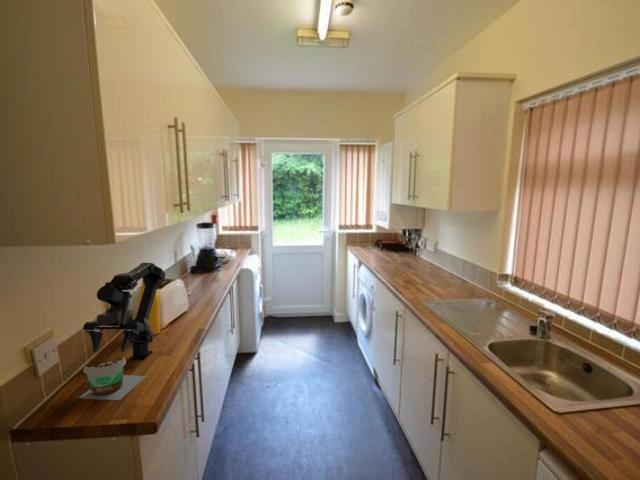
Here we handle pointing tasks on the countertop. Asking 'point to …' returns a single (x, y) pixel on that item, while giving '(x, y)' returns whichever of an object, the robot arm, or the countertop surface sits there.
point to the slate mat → (127, 386)
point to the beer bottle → (152, 312)
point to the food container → (105, 377)
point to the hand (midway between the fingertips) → (108, 352)
